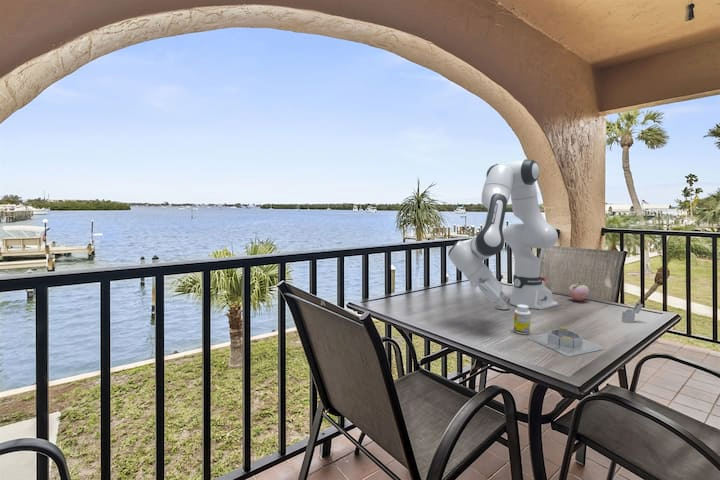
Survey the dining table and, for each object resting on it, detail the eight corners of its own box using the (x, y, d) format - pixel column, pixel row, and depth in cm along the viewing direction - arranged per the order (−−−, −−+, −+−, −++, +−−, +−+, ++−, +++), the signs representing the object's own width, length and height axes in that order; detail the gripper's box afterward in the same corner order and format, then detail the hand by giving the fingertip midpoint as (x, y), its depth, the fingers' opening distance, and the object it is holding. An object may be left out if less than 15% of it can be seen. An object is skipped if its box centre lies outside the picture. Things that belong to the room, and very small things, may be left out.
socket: (560, 333, 132) (561, 322, 131) (603, 349, 117) (604, 337, 116) (528, 338, 126) (528, 327, 126) (568, 356, 111) (569, 344, 111)
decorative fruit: (574, 298, 181) (575, 279, 180) (591, 301, 174) (592, 282, 173) (564, 300, 176) (565, 281, 175) (581, 304, 169) (582, 284, 168)
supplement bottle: (516, 328, 137) (517, 302, 136) (531, 331, 133) (532, 305, 132) (511, 332, 132) (512, 306, 131) (527, 335, 129) (528, 308, 128)
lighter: (624, 322, 144) (626, 303, 143) (621, 321, 145) (623, 302, 145) (641, 322, 144) (643, 303, 143) (638, 321, 146) (639, 302, 145)
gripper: (484, 276, 126) (512, 306, 123) (489, 267, 145) (513, 293, 142) (471, 287, 129) (498, 316, 126) (477, 277, 147) (501, 302, 144)
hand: (506, 304), depth 134 cm, fingers open, 8 cm apart
